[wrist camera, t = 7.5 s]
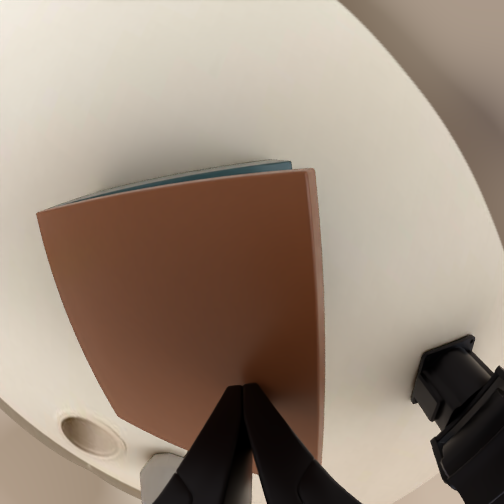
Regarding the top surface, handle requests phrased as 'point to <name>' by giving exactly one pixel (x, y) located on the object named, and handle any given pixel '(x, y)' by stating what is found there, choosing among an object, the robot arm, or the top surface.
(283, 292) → the tin lid
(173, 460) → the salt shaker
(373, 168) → the top surface
